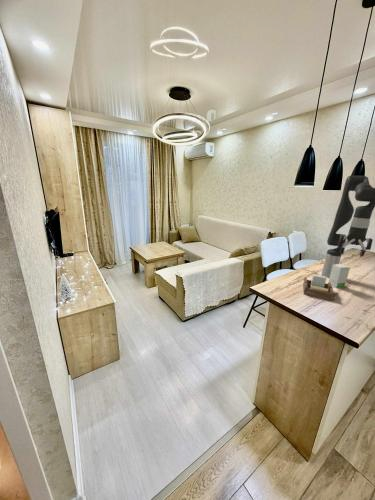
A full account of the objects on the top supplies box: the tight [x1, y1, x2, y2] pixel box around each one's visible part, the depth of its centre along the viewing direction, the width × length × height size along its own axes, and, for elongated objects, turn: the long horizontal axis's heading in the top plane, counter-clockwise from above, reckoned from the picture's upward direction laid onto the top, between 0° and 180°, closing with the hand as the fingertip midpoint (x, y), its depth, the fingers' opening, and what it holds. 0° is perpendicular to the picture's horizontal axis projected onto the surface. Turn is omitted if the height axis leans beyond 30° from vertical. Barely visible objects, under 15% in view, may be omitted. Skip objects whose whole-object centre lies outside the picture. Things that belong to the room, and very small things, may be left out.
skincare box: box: [328, 263, 351, 289], centre depth 142 cm, size 8×7×16 cm
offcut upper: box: [310, 285, 328, 292], centre depth 129 cm, size 4×9×2 cm, turn 63°
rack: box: [302, 277, 335, 301], centre depth 132 cm, size 16×15×6 cm
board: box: [310, 273, 327, 288], centre depth 134 cm, size 3×7×10 cm, turn 63°
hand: (351, 255), depth 116 cm, fingers open, 8 cm apart
